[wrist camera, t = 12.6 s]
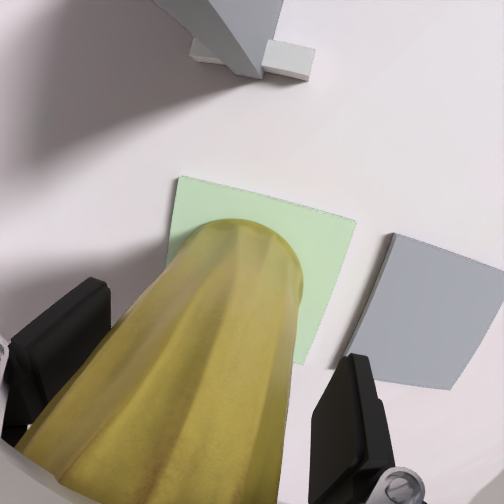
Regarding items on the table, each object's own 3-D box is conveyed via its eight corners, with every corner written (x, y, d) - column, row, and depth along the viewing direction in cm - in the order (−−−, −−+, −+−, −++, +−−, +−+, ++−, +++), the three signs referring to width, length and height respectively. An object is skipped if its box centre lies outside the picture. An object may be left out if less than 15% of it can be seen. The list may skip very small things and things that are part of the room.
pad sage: (163, 319, 17) (159, 324, 16) (182, 175, 14) (179, 177, 14) (303, 359, 16) (302, 365, 16) (354, 220, 14) (356, 223, 13)
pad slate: (337, 367, 16) (337, 372, 16) (394, 232, 13) (396, 235, 13) (447, 385, 16) (449, 390, 15) (509, 273, 13) (513, 277, 13)
